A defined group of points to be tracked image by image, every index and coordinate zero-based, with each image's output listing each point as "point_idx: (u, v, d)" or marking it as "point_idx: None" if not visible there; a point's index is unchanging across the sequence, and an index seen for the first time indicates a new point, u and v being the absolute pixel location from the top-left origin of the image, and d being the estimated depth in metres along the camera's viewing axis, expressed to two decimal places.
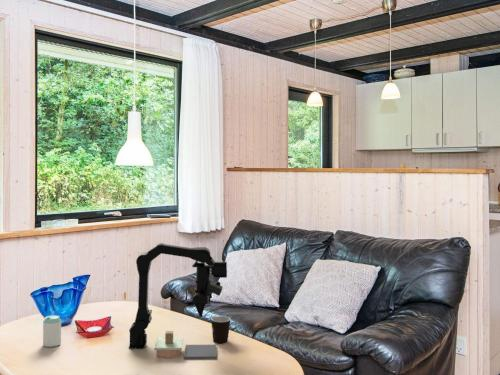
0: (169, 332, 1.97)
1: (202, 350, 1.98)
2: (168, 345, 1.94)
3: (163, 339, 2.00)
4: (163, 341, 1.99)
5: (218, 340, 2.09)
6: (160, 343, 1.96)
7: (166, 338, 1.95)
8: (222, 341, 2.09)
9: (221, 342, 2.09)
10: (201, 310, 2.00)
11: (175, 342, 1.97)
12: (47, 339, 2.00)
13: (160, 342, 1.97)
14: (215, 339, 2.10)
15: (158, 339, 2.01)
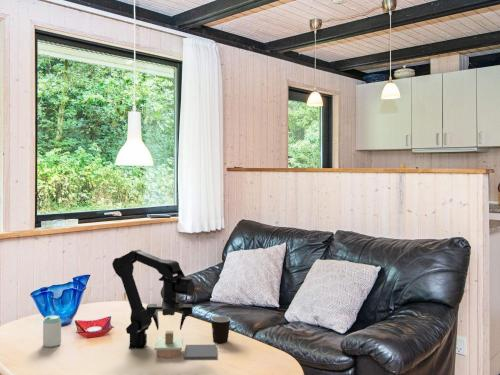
0: (169, 332, 1.97)
1: (202, 350, 1.98)
2: (168, 345, 1.94)
3: (163, 339, 2.00)
4: (163, 341, 1.99)
5: (218, 340, 2.09)
6: (160, 343, 1.96)
7: (166, 338, 1.95)
8: (222, 341, 2.09)
9: (221, 342, 2.09)
10: (155, 323, 1.96)
11: (175, 342, 1.97)
12: (47, 339, 2.00)
13: (160, 342, 1.97)
14: (215, 339, 2.10)
15: (158, 339, 2.01)
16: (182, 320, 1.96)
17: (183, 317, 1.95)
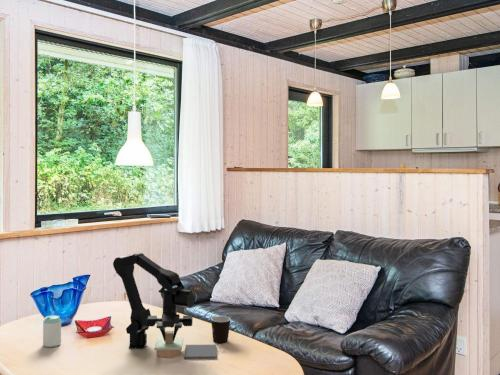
0: (169, 332, 1.97)
1: (202, 350, 1.98)
2: (168, 345, 1.94)
3: (163, 339, 2.00)
4: (163, 341, 1.99)
5: (218, 340, 2.09)
6: (160, 343, 1.96)
7: (166, 338, 1.95)
8: (222, 341, 2.09)
9: (221, 342, 2.09)
10: (162, 334, 1.96)
11: (175, 342, 1.97)
12: (47, 339, 2.00)
13: (160, 342, 1.97)
14: (215, 339, 2.10)
15: (158, 339, 2.01)
16: (175, 332, 1.96)
17: (176, 329, 1.95)
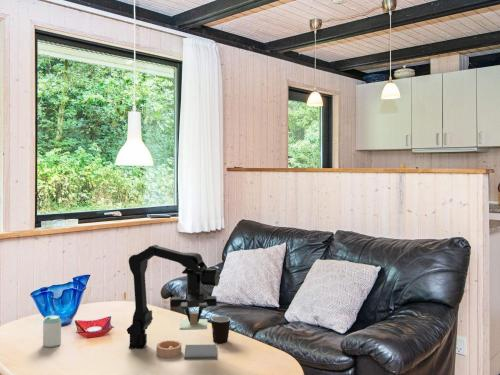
0: (193, 312, 1.97)
1: (202, 350, 1.98)
2: (193, 325, 1.95)
3: (188, 320, 2.01)
4: (188, 322, 1.99)
5: (218, 340, 2.09)
6: (185, 324, 1.97)
7: (191, 318, 1.96)
8: (222, 341, 2.09)
9: (221, 342, 2.09)
10: (187, 315, 1.97)
11: (200, 323, 1.97)
12: (47, 339, 2.00)
13: (185, 323, 1.98)
14: (215, 339, 2.10)
15: (182, 320, 2.01)
16: (199, 312, 1.96)
17: (200, 309, 1.96)
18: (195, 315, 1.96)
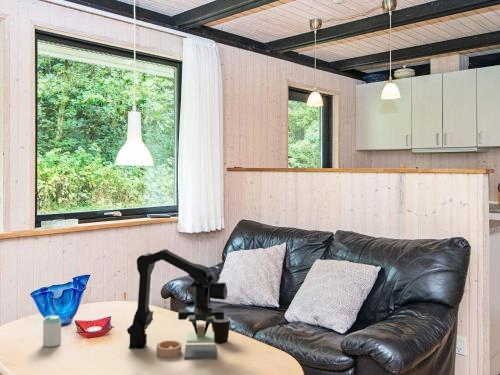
0: (201, 325, 1.98)
1: (202, 350, 1.98)
2: (200, 338, 1.96)
3: (195, 333, 2.02)
4: (194, 334, 2.00)
5: (218, 340, 2.09)
6: (192, 336, 1.97)
7: (198, 331, 1.96)
8: (222, 341, 2.09)
9: (221, 342, 2.09)
10: (194, 328, 1.98)
11: (207, 336, 1.98)
12: (47, 339, 2.00)
13: (192, 335, 1.98)
14: (215, 339, 2.10)
15: (189, 332, 2.02)
16: (206, 325, 1.97)
17: (208, 322, 1.96)
18: (202, 328, 1.97)
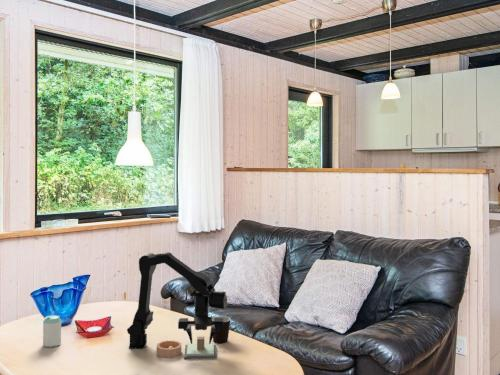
0: (200, 338, 1.98)
1: None
2: (200, 351, 1.96)
3: (194, 345, 2.02)
4: (194, 347, 2.00)
5: (218, 340, 2.09)
6: (192, 349, 1.97)
7: (198, 344, 1.97)
8: (222, 341, 2.09)
9: (221, 342, 2.09)
10: (189, 337, 1.97)
11: (207, 348, 1.98)
12: (47, 339, 2.00)
13: (191, 348, 1.99)
14: (215, 339, 2.10)
15: (189, 345, 2.02)
16: (211, 334, 1.97)
17: (212, 331, 1.97)
18: (202, 341, 1.97)
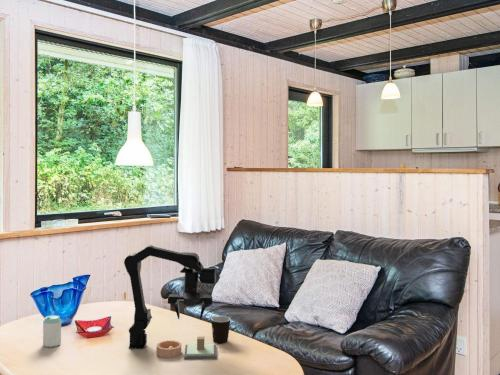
0: (200, 338, 1.98)
1: None
2: (200, 351, 1.96)
3: (194, 345, 2.02)
4: (194, 347, 2.00)
5: (218, 340, 2.09)
6: (192, 349, 1.97)
7: (198, 344, 1.97)
8: (222, 341, 2.09)
9: (221, 342, 2.09)
10: (176, 312, 2.03)
11: (207, 348, 1.98)
12: (47, 339, 2.00)
13: (191, 348, 1.99)
14: (215, 339, 2.10)
15: (189, 345, 2.02)
16: (202, 310, 2.03)
17: (203, 307, 2.02)
18: (202, 341, 1.97)
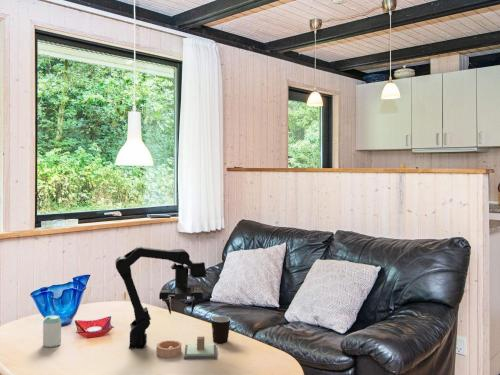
0: (200, 338, 1.98)
1: None
2: (200, 351, 1.96)
3: (194, 345, 2.02)
4: (194, 347, 2.00)
5: (218, 340, 2.09)
6: (192, 349, 1.97)
7: (198, 344, 1.97)
8: (222, 341, 2.09)
9: (221, 342, 2.09)
10: (168, 307, 2.09)
11: (207, 348, 1.98)
12: (47, 339, 2.00)
13: (191, 348, 1.99)
14: (215, 339, 2.10)
15: (189, 345, 2.02)
16: (193, 305, 2.09)
17: (194, 302, 2.08)
18: (202, 341, 1.97)
